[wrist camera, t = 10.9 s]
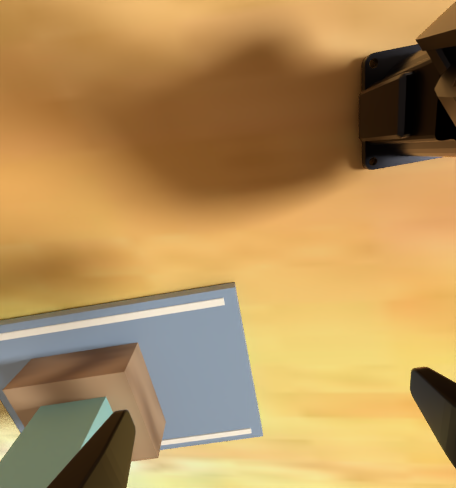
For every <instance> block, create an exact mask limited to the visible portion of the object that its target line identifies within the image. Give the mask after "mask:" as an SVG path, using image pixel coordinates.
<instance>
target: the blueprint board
mask: <svg viewBox="0 0 456 488" xmlns="http://www.w3.org/2000/svg"><path fill="white" fill-rule="evenodd" d="M137 342H138V344H139V347H140V350H141V353H142V355H143V358H144V361H145V364H146V367H147V370H148V372H149V375H150V378H151V381H152V384H153V387H154V389H155V392H156V395H157V398H158V401H159V404H160V406H161V409H162V412H163V415H164V418H165V421H166V424H165V429H164V433H163V438H162V442H161V447H160V450H163V449H170V448H178V447H185V446H193V445H200V444H208V443H215V442H222V441H230V440H237V439H245V438H252V437H260V436H263V432H262V425H261V420H260V415H259V409H258V404H257V399H256V393H255V388H254V383H253V377H252V372H251V367H250V361H249V356H248V351H247V345H246V340H245V335H244V329H243V324H242V319H241V314H240V308H239V303H238V298H237V292H236V287H235V282H233V283H227V284H221V285H215V286H209V287H203V288H197V289H190V290H184V291H178V292H172V293H166V294H160V295H154V296H147V297H141V298H135V299H129V300H123V301H117V302H111V303H105V304H98V305H92V306H86V307H80V308H74V309H68V310H62V311H56V312H49V313H43V314H37V315H31V316H25V317H19V318H13V319H7V320H0V400H1V402H2V403H3V405H4V407H5V408H6V410H7V411H8V413H9V415H10V416H11V418H12V420H13V421H14V423H15V424H16V426H17V428H18V429H19V431H20V432H22V431H23V430H24V428H25V427H24V425H23V424H22V422H21V420H20V419H19V417H18V415H17V414H16V412H15V410H14V409H13V407H12V405H11V404H10V402H9V400H8V399H7V397H6V395H5V394H4V392H3V391H2V390H3V389H4V388H5V387H6V386H7V384H8V383H9V382H10V381H11V380H12V379H13V378H14V377H15V376H16V375H17V374H18V373H19V372H20V371H21V370H22V368H23V367H24V366H25V365H26V364H27V363H28V362H29V361H30V360H31V359H34V358H40V357H47V356H53V355H60V354H66V353H73V352H79V351H85V350H92V349H98V348H105V347H111V346H118V345H124V344H131V343H137Z"/></svg>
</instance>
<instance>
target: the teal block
mask: <svg viewBox="0 0 456 488" xmlns="http://www.w3.org/2000/svg"><path fill="white" fill-rule="evenodd" d="M112 413H113V411H112V409H111V407H110V404H109V402H108V400H107V398H106V397H99V398H93V399H86V400H80V401H73V402H66V403H60V404H53V405H46V406H40V408H39V409H38V410H37V412H36V413H35V415H34V416H33V417H32V419H31V420H30V421H29V423H28V424H27V426H26V427H25V428H24V430H23V431H22V432H21V434H20V435H19V436H18V438H17V439H16V441H15V442H14V443H13V445H12V446H11V447H10V449H9V450H8V452H7V453H6V454H5V456H4V457H3V458H2V460H1V461H0V488H47V486H48V485H49V484H50V483H51V482H52V481H53V480H54V479H55V477H56V476H57V475H58V474H59V473H60V472H61V471H62V470H63V468H64V467H65V466H66V465H67V464H68V463H69V462H70V461H71V459H72V458H73V457H74V456H75V455H76V454H77V453H78V452H79V450H80V449H81V448H82V447H83V446H84V445H85V444H86V442H87V441H88V440H89V439H90V438H91V437H92V436H93V435H94V433H95V432H96V431H97V430H98V429H99V428H100V427H101V426H102V424H103V423H104V422H105V421H106V420H107V419H108V418H109V417H110V415H111V414H112Z"/></svg>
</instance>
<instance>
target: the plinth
mask: <svg viewBox="0 0 456 488" xmlns="http://www.w3.org/2000/svg"><path fill="white" fill-rule="evenodd" d="M2 391H3V392H4V394H5V395H6V397H7V399H8V400H9V402H10V404H11V405H12V407H13V409H14V410H15V412H16V414H17V415H18V417H19V419H20V420H21V422H22V424H23V425H24V427H26V426H27V424H28V423H29V421H30V420H31V419H32V417H33V416H34V415H35V413H36V412H37V410H38V409H39V408H40V406H46V405H53V404H60V403H66V402H73V401H80V400H86V399H93V398H99V397H106V398H107V400H108V402H109V404H110V407H111V409H112V411H113V412H115V411H118V410H125V409H126V410H128V411H129V413H130V415H131V417H132V420H133V422H134V425H135V428H136V435H135V441H134V447H133V453H132V459H131V461H138V460H146V459H153V458H158V456H159V451H160V447H161V442H162V438H163V433H164V429H165V424H166V421H165V418H164V415H163V412H162V409H161V406H160V404H159V401H158V398H157V395H156V392H155V389H154V387H153V384H152V381H151V378H150V375H149V372H148V370H147V367H146V364H145V361H144V358H143V355H142V353H141V350H140V347H139V344H138V342H137V343H131V344H124V345H118V346H111V347H105V348H98V349H92V350H85V351H79V352H73V353H66V354H60V355H53V356H47V357H40V358H34V359H31V360H30V361H29V362H28V363H27V364H26V365H25V366H24V367H23V368H22V370H21V371H20V372H19V373H18V374H17V375H16V376H15V377H14V378H13V379H12V380H11V381H10V382H9V383H8V384H7V386H6V387H5V388H4V389H3V390H2Z"/></svg>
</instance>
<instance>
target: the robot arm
mask: <svg viewBox="0 0 456 488" xmlns="http://www.w3.org/2000/svg"><path fill="white" fill-rule="evenodd" d="M416 41H417V43H418V44H416V45H411V46H406V47H401V48H396V49H391V50H386V51H381V52H376V53H373V54H370V55H369V56H367V57H366V58H365V59H364V61H363V63H362V92H361V94H360V95H359V138H360V139H361V140H362V164H363V167H364V168H366V169H370V170H374V169H379V168H385V167H390V166H396V165H402V164H407V163H413V162H418V161H424V160H429V159H435V158H441V157H456V2H455V3H454V4H453V5H452V6H450V7H449V8H448V9H447V10H446V11H445V12H444V13H443V14H442V15H441V16H440V17H439V18H438V19H437V20H436V21H434V22H433V23H432V24H431V25H430V26H429V27H428V28H427V29H426V30H425V31H424V32H423V33H422V34H421V35H420V36H419V37H418V38H417V39H416ZM370 60H372V61H373V62H374V64H375V65H374V68H371V67H370V66H369V62H370ZM371 158H373V159H374V163H373V164H372V165H370V164H369V161H370V159H371ZM410 391H411V394H412V396H413V398H414V400H415V402H416V403H417V405H418V407H419V409H420V410H421V412H422V414H423V416H424V417H425V419H426V421H427V423H428V424H429V426H430V428H431V430H432V431H433V433H434V435H435V437H436V438H437V440H438V442H439V444H440V445H441V447H442V449H443V450H444V452H445V454H446V455H447V457H448V458H449V460H450V461H451V463H452V464H453V466H454V467H455V468H456V383H455V382H453V381H452V380H450V379H448V378H446V377H444V376H443V375H441V374H439V373H437V372H436V371H434V370H432V369H430V368H428V367H419V368H413V369H412V370H411V380H410ZM135 435H136V428H135V425H134V422H133V420H132V417H131V415H130V413H129V411H128V410H126V409H125V410H118V411H115V412H113V413H112V414H111V415H110V417H109V418H108V419H107V420H106V421H105V422H104V423H103V424H102V426H101V427H100V428H99V429H98V430H97V431H96V432H95V433H94V435H93V436H92V437H91V438H90V439H89V440H88V441H87V442H86V444H85V445H84V446H83V447H82V448H81V449H80V450H79V452H78V453H77V454H76V455H75V456H74V457H73V458H72V459H71V461H70V462H69V463H68V464H67V465H66V466H65V467H64V468H63V470H62V471H61V472H60V473H59V474H58V475H57V476H56V477H55V479H54V480H53V481H52V482H51V483H50V484H49V485H48V486H47V488H126V487H127V482H128V476H129V470H130V464H131V459H132V453H133V447H134V441H135Z"/></svg>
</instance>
